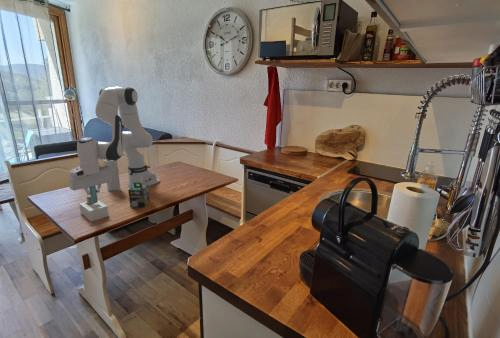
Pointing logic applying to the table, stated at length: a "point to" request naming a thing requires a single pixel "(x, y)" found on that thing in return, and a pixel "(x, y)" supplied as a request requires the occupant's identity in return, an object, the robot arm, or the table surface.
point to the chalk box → (139, 195)
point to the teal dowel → (93, 194)
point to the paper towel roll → (113, 175)
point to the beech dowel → (89, 200)
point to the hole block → (94, 210)
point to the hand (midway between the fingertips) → (93, 193)
